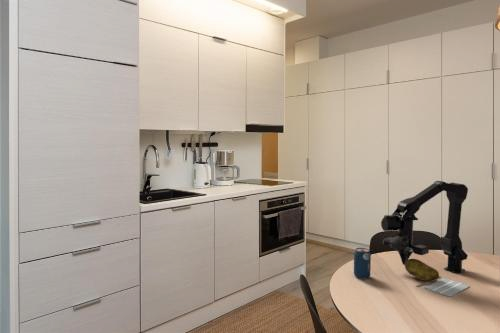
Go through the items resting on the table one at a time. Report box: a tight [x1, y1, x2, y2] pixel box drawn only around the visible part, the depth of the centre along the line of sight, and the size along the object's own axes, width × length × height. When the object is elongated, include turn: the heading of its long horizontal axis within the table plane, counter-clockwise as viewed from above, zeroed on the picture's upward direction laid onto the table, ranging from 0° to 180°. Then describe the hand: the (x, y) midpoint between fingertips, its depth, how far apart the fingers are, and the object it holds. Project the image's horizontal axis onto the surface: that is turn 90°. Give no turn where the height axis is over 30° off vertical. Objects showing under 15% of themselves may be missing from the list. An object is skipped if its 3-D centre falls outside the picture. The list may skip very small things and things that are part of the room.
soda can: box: [353, 247, 372, 280], centre depth 158 cm, size 7×7×12 cm
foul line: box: [415, 275, 442, 288], centre depth 153 cm, size 18×1×1 cm, turn 126°
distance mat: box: [423, 277, 470, 298], centre depth 147 cm, size 16×10×1 cm, turn 126°
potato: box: [403, 258, 440, 282], centre depth 156 cm, size 8×13×8 cm, turn 42°
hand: (404, 264), depth 162 cm, fingers closed
